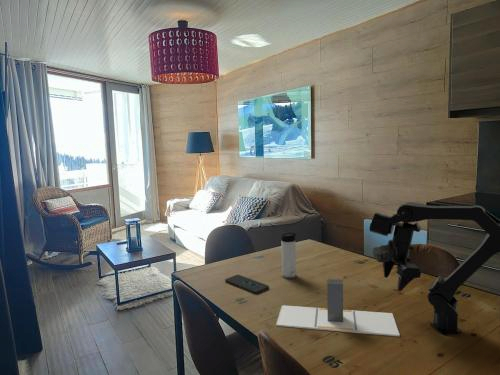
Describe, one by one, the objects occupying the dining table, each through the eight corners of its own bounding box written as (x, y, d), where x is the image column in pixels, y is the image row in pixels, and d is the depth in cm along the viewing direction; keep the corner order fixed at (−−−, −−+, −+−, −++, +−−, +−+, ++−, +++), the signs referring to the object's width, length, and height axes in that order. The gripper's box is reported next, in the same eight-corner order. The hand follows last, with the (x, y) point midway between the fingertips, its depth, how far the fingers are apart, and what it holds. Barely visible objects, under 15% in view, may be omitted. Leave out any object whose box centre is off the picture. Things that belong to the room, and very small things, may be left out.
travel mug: (296, 279, 154) (295, 235, 151) (281, 278, 155) (280, 234, 153) (297, 274, 160) (296, 231, 158) (283, 273, 161) (281, 231, 159)
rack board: (392, 314, 119) (392, 313, 119) (399, 336, 106) (399, 334, 106) (282, 306, 128) (282, 305, 128) (276, 325, 115) (276, 324, 115)
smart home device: (255, 291, 139) (224, 279, 154) (255, 295, 139) (224, 282, 154) (269, 285, 145) (238, 273, 159) (270, 289, 145) (238, 277, 159)
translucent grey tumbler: (342, 316, 118) (342, 279, 117) (343, 322, 114) (342, 284, 113) (327, 315, 119) (327, 278, 118) (327, 321, 116) (327, 283, 114)
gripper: (366, 228, 122) (358, 269, 125) (392, 250, 104) (382, 297, 107) (396, 231, 123) (387, 271, 126) (427, 252, 105) (416, 299, 108)
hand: (392, 283), depth 117 cm, fingers open, 9 cm apart
